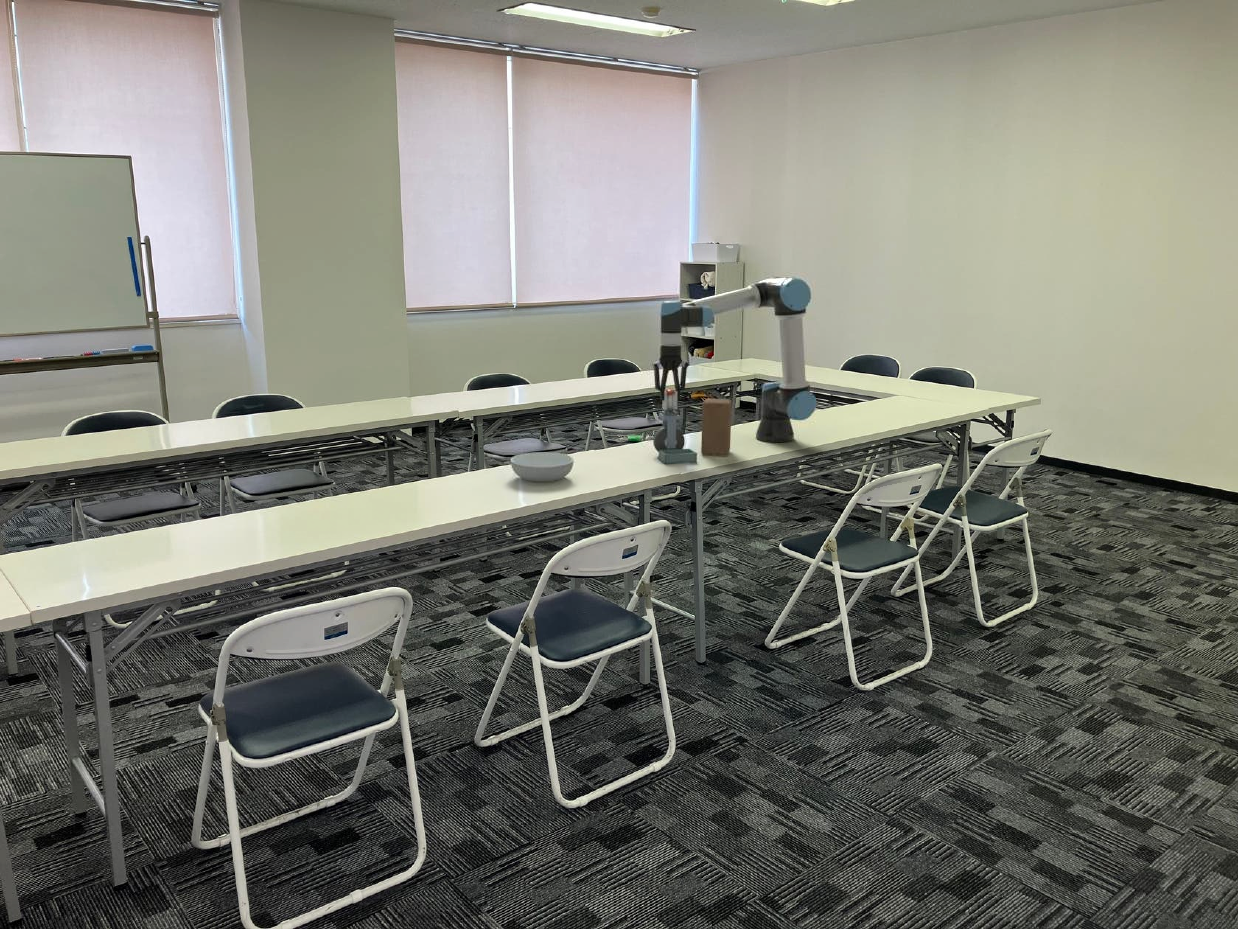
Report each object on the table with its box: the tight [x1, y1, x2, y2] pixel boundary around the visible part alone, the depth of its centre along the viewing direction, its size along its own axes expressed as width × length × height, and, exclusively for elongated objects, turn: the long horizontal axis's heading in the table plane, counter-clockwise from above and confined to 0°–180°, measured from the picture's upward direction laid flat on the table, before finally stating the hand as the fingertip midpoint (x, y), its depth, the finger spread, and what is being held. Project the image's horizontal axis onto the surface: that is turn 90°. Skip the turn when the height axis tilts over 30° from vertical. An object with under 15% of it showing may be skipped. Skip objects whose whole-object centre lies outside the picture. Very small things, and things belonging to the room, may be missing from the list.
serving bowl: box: [510, 451, 575, 483], centre depth 308 cm, size 21×21×7 cm
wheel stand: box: [652, 410, 686, 453], centre depth 341 cm, size 11×6×16 cm, turn 105°
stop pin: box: [665, 389, 676, 413], centre depth 339 cm, size 3×3×9 cm
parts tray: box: [658, 448, 698, 465], centre depth 335 cm, size 12×8×4 cm, turn 105°
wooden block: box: [700, 398, 733, 457], centre depth 346 cm, size 10×10×20 cm
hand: (669, 408), depth 339 cm, fingers closed on stop pin, 3 cm apart
